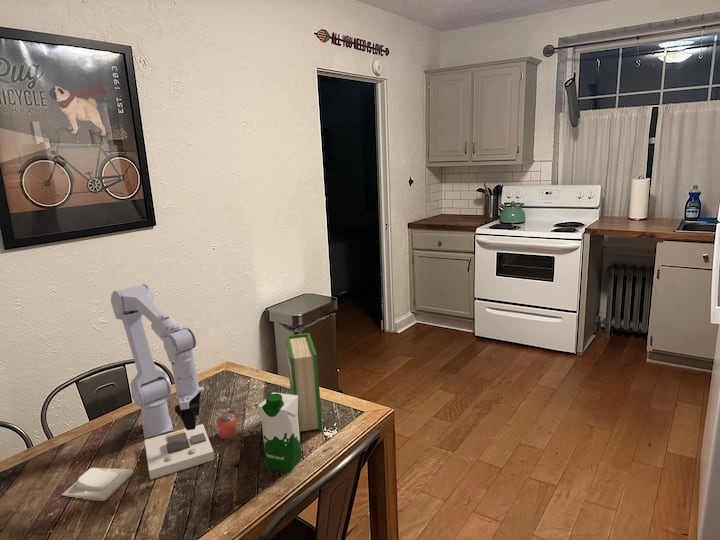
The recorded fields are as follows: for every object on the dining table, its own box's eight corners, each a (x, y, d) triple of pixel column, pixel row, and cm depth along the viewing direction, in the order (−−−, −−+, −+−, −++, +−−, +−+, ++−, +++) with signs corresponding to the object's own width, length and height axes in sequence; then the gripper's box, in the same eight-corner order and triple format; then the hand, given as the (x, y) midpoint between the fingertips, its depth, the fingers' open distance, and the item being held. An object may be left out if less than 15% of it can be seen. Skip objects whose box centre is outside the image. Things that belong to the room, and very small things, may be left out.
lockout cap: (217, 432, 145) (215, 416, 143) (234, 427, 147) (232, 411, 146) (220, 440, 140) (218, 424, 139) (238, 435, 142) (237, 419, 141)
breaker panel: (145, 447, 138) (144, 438, 138) (203, 431, 145) (202, 422, 145) (150, 479, 124) (148, 468, 124) (214, 459, 131) (213, 449, 131)
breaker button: (167, 445, 135) (166, 437, 135) (186, 439, 138) (185, 432, 137) (169, 454, 131) (168, 446, 130) (189, 448, 133) (187, 440, 133)
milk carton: (261, 470, 126) (253, 399, 121) (277, 450, 134) (271, 383, 130) (291, 476, 123) (285, 403, 118) (307, 455, 131) (301, 386, 127)
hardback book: (322, 431, 142) (316, 354, 137) (297, 435, 141) (290, 358, 135) (314, 402, 159) (309, 333, 153) (291, 406, 158) (285, 335, 152)
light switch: (88, 459, 129) (131, 460, 127) (92, 473, 130) (134, 474, 128) (56, 486, 119) (102, 488, 116) (60, 501, 120) (105, 503, 117)
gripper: (197, 383, 122) (205, 432, 125) (204, 362, 136) (211, 407, 139) (167, 388, 121) (176, 437, 124) (177, 366, 135) (185, 411, 138)
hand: (193, 422), depth 131 cm, fingers open, 7 cm apart
